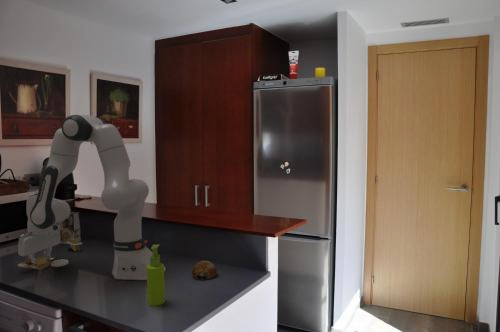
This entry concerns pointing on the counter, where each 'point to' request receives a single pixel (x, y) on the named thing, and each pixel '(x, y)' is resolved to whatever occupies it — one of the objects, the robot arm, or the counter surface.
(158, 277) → the soap dispenser
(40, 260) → the mustard ball
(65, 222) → the coffee box
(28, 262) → the walnut ball
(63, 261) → the white bowl
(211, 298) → the counter surface
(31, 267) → the twin rack
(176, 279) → the counter surface
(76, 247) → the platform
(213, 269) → the bread roll
